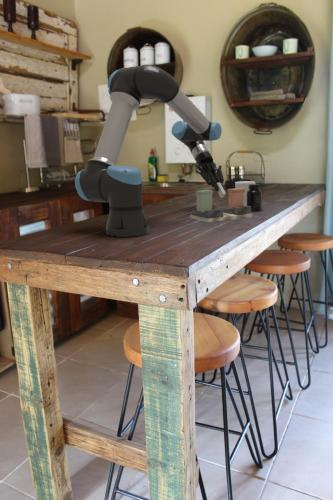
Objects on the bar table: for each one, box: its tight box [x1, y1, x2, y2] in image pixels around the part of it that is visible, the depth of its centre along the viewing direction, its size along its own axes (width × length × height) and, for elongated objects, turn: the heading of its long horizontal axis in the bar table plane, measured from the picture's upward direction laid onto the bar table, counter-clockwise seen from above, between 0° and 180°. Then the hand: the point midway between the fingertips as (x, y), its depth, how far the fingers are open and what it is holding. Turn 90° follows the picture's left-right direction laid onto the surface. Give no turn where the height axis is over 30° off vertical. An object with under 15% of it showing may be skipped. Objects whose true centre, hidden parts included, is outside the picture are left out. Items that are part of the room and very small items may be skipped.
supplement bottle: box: [247, 183, 263, 212], centre depth 198 cm, size 7×7×12 cm
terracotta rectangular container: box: [227, 188, 245, 209], centre depth 182 cm, size 6×5×10 cm
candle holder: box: [234, 180, 257, 206], centre depth 211 cm, size 10×10×12 cm
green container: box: [194, 189, 214, 212], centre depth 179 cm, size 6×5×10 cm
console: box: [189, 206, 254, 223], centre depth 181 cm, size 22×14×4 cm, turn 118°
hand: (223, 195), depth 190 cm, fingers closed
